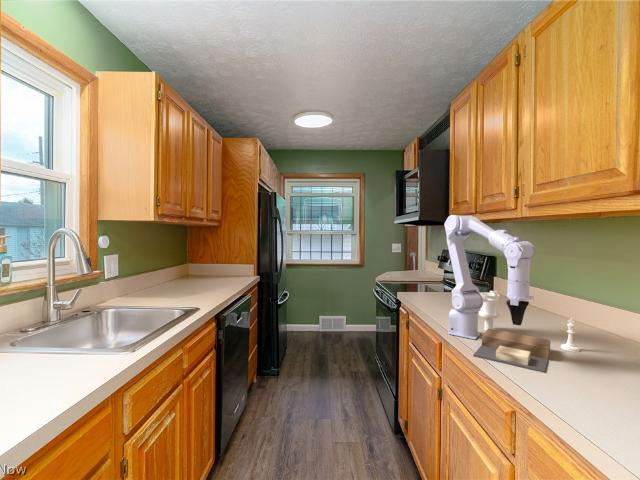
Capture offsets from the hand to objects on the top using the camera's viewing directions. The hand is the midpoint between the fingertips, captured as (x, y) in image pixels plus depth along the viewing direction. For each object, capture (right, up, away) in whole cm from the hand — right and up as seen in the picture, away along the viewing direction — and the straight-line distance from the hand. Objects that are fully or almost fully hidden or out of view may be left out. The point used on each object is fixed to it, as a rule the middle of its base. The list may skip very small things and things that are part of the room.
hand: (517, 324), depth 101 cm
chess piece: (+21, -10, +6) cm, 23 cm away
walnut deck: (+3, -9, +6) cm, 11 cm away
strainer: (+4, -9, +25) cm, 27 cm away
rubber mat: (-4, -9, -3) cm, 11 cm away
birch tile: (-4, -7, -4) cm, 9 cm away
